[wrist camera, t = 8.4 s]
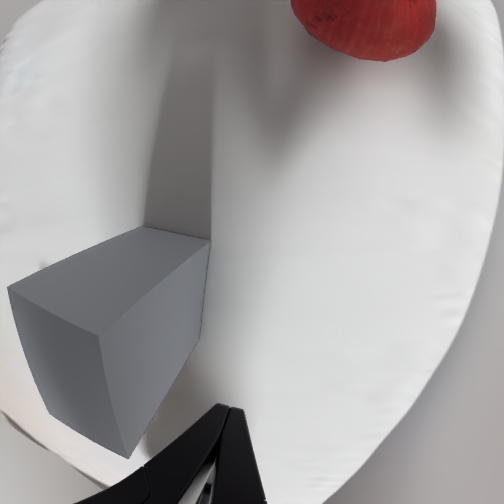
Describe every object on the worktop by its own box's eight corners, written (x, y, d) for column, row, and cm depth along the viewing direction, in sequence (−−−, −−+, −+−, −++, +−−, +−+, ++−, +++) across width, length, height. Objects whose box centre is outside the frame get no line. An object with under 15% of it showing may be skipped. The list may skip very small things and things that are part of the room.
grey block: (199, 337, 16) (128, 459, 7) (141, 319, 16) (49, 413, 8) (211, 240, 14) (98, 336, 5) (143, 225, 14) (7, 287, 6)
